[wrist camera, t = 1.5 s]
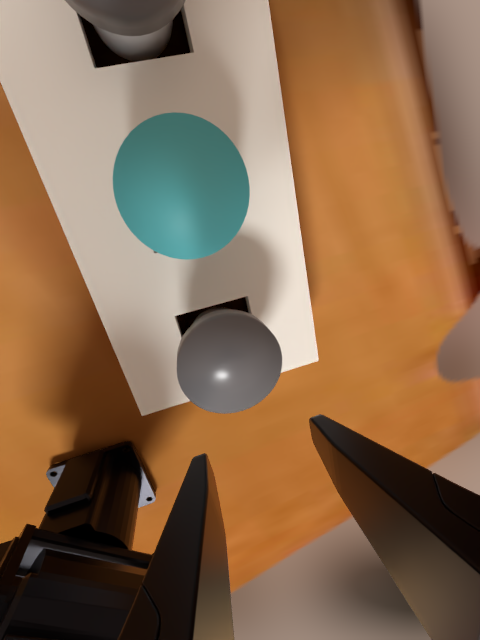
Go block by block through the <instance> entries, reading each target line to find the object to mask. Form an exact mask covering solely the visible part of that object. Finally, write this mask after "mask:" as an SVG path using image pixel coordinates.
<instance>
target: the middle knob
mask: <svg viewBox="0 0 480 640" xmlns="http://www.w3.org/2000/svg"><path fill="white" fill-rule="evenodd" d="M113 190H114V197H115V200H116V204H117V207H118V210H119V212H120V214H121V216H122V218H123V220H124V222H125V224H126V225H127V226H128V228H129V229H130V231H131V232H132V233H133V234H134V235H135V236H136V237H137V238H138V239H139V240H140V241H141V242H142V243H143V244H145V245H146V246H147V247H149V248H150V249H152V250H154V251H156V252H158V253H160V254H162V255H165V256H168V257H171V258H176V259H185V260H187V259H198V258H203V257H206V256H209V255H211V254H213V253H216V252H218V251H219V250H221V249H222V248H224V247H225V246H226V245H227V244H228V243H229V242H230V241H231V240H232V239H233V238H234V237H235V236H236V234H237V233H238V231H239V230H240V228H241V226H242V224H243V222H244V220H245V217H246V214H247V210H248V206H249V197H250V186H249V179H248V174H247V170H246V167H245V164H244V161H243V159H242V157H241V155H240V153H239V151H238V149H237V148H236V146H235V145H234V143H233V142H232V141H231V140H230V139H229V137H228V136H227V135H226V134H225V133H224V132H223V131H221V130H220V129H219V128H218V127H217V126H215V125H214V124H212V123H211V122H209V121H207V120H205V119H203V118H201V117H198V116H195V115H192V114H187V113H177V112H172V113H163V114H160V115H156V116H153V117H151V118H149V119H147V120H145V121H143V122H142V123H140V124H139V125H137V126H136V127H135V128H134V129H133V130H132V131H131V132H130V133H129V134H128V136H127V137H126V138H125V139H124V141H123V143H122V145H121V146H120V148H119V151H118V153H117V156H116V159H115V163H114V169H113Z"/></svg>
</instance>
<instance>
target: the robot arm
mask: <svg viewBox="0 0 480 640" xmlns="http://www.w3.org/2000/svg"><path fill="white" fill-rule="evenodd" d="M309 423H310V429H311V435H312V440H313V443H314V445H315V447H316V449H317V451H318V453H319V455H320V457H321V459H322V461H323V463H324V465H325V467H326V469H327V471H328V473H329V475H330V477H331V479H332V481H333V483H334V485H335V487H336V489H337V491H338V493H339V495H340V496H341V498H342V500H343V501H344V503H345V504H346V506H347V507H348V509H349V511H350V512H351V514H352V515H353V517H354V518H355V520H356V522H357V523H358V525H359V526H360V528H361V529H362V531H363V533H364V534H365V536H366V537H367V539H368V540H369V542H370V543H371V545H372V547H373V548H374V550H375V552H376V553H377V555H378V556H379V558H380V559H381V561H382V563H383V564H384V566H385V567H386V569H387V570H388V572H389V573H390V575H391V577H392V578H393V580H394V581H395V583H396V585H397V586H398V588H399V589H400V591H401V592H402V594H403V596H404V597H405V599H406V600H407V602H408V604H409V605H410V607H411V608H412V610H413V611H414V613H415V614H416V616H417V618H418V619H419V621H420V622H421V624H422V626H423V627H424V629H425V630H426V632H427V634H428V635H429V637H430V638H431V640H480V495H478V494H475V493H474V492H472V491H469V490H467V489H466V488H463V487H461V486H459V485H457V484H455V483H453V482H451V481H449V480H447V479H445V478H444V477H442V476H440V475H438V474H436V473H433V474H432V472H431V471H430V470H428V469H426V468H424V467H422V466H420V465H418V464H416V463H415V462H413V461H411V460H409V459H407V458H405V457H403V456H401V455H399V454H397V453H395V452H393V451H391V450H390V449H388V448H386V447H384V446H382V445H380V444H378V443H376V442H374V441H372V440H370V439H368V438H366V437H364V436H363V435H361V434H359V433H357V432H355V431H353V430H351V429H349V428H347V427H345V426H343V425H341V424H339V423H338V422H336V421H334V420H332V419H330V418H328V417H326V416H324V415H321V414H320V415H317V416H314V417H311V418H310V419H309ZM125 448H129V449H125ZM53 471H55V472H56V473H55V472H53ZM46 475H47V477H48V479H49V480H50V482H51V484H52V485H53V487H54V490H53V492H52V494H51V496H50V499H49V501H48V503H47V505H46V507H45V510H44V511H45V512H46V514H45V516H44V518H43V520H42V522H41V524H40V526H39V529H38V528H36V526H34V525H30V524H26V526H25V527H24V529H23V531H22V532H21V534H20V535H19V537H15V538H14V539H13V540H11V541H8V542H5V543H1V544H0V640H234V631H233V619H232V606H231V594H230V582H229V570H228V558H227V546H226V536H225V529H224V523H223V518H222V513H221V508H220V502H219V497H218V492H217V487H216V482H215V477H214V473H213V470H212V467H211V464H210V462H209V459H208V456H207V454H205V453H204V454H201V455H198V456H195V457H194V458H193V459H192V461H191V464H190V466H189V469H188V471H187V473H186V476H185V478H184V481H183V483H182V486H181V488H180V491H179V493H178V496H177V498H176V500H175V503H174V505H173V508H172V510H171V513H170V515H169V518H168V520H167V522H166V525H165V527H164V530H163V532H162V535H161V537H160V540H159V542H158V545H157V547H156V549H155V552H154V553H153V554H152V555H151V554H146V553H142V552H138V551H133V550H132V546H133V540H134V533H135V526H136V519H137V512H138V508H139V507H142V506H145V505H148V504H150V503H153V502H154V501H155V498H156V493H155V491H154V489H153V486H152V484H151V482H150V480H149V478H148V475H147V473H146V471H145V469H144V467H143V464H142V462H141V460H140V458H139V456H138V453H137V451H136V449H135V447H134V445H133V443H131V442H128V441H127V442H123V443H120V444H117V445H114V446H111V447H108V448H104V449H101V450H97V451H94V452H91V453H88V454H85V455H82V456H79V457H75V458H72V459H69V460H67V461H64V462H61V463H58V464H55V465H52V466H50V467H49V469H48V471H47V473H46Z"/></svg>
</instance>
